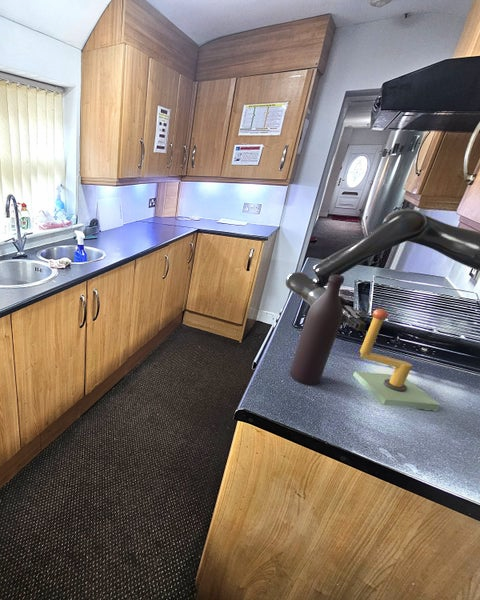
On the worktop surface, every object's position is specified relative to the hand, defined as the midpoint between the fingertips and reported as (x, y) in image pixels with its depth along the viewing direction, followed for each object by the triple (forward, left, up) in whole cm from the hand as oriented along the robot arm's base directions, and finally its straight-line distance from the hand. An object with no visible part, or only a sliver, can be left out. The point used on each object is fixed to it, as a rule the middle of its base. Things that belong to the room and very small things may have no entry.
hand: (362, 327), depth 87 cm
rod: (-4, +5, -12) cm, 14 cm away
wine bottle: (+12, +4, -15) cm, 20 cm away
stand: (-8, +7, -15) cm, 18 cm away
